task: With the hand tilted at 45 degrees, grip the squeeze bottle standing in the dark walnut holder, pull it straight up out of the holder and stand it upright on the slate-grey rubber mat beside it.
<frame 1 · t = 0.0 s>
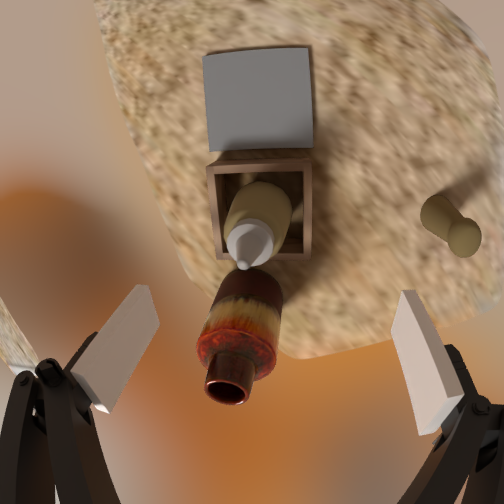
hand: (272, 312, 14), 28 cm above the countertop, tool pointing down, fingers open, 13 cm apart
vase: (251, 294, 48), on the countertop
squeeze bottle: (264, 202, 41), resting in bottle holder
cork: (435, 213, 37), on the countertop
slate mat: (258, 98, 34), on the countertop
bottle holder: (264, 203, 40), on the countertop
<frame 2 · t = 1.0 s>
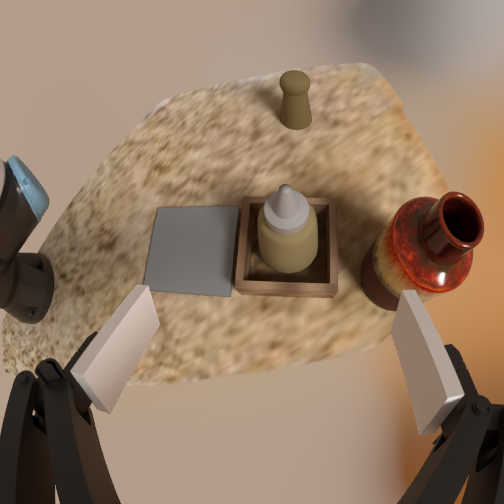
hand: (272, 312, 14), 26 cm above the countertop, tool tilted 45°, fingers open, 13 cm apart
vase: (393, 275, 39), on the countertop
squeeze bottle: (288, 253, 42), resting in bottle holder
cork: (296, 119, 50), on the countertop
slate mat: (191, 249, 44), on the countertop
bottle holder: (288, 252, 42), on the countertop
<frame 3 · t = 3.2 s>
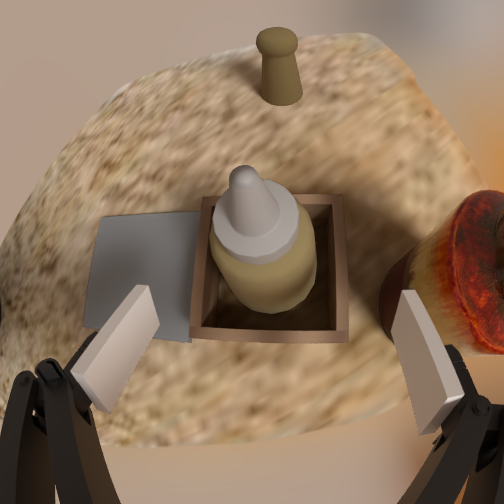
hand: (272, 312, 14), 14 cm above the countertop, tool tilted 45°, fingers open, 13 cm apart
vase: (423, 304, 25), on the countertop
squeeze bottle: (273, 277, 29), resting in bottle holder
cork: (282, 93, 37), on the countertop
slate mat: (140, 274, 31), on the countertop
bottle holder: (273, 277, 28), on the countertop
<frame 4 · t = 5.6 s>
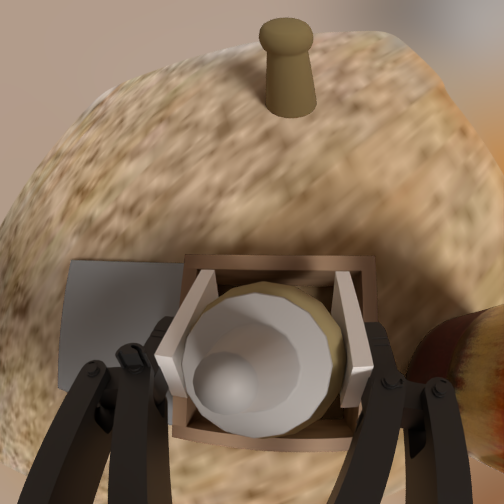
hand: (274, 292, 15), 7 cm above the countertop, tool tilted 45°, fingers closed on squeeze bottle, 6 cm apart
vase: (454, 377, 18), on the countertop
squeeze bottle: (278, 353, 22), resting in bottle holder, touching gripper
cork: (291, 102, 30), on the countertop
slate mat: (116, 335, 24), on the countertop
bottle holder: (278, 353, 21), on the countertop
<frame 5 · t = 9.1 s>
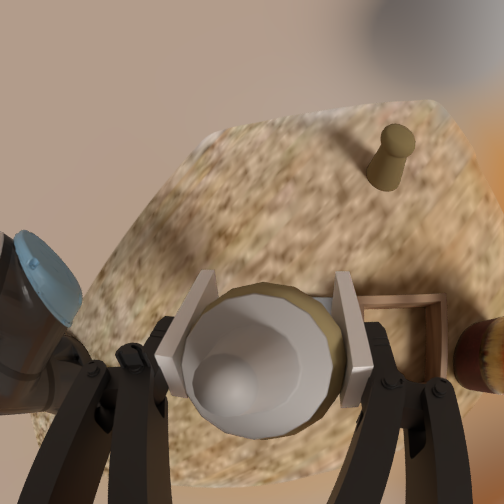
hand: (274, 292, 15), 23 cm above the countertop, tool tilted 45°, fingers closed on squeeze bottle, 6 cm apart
vase: (477, 356, 31), on the countertop
squeeze bottle: (278, 353, 21), point 16 cm above the countertop, touching gripper
cork: (383, 176, 42), on the countertop
bottle holder: (392, 347, 34), on the countertop
when the fingers open (10 cm above the countertop, at t = 12.5 s): squeeze bottle drops 1 cm, resting on slate mat.
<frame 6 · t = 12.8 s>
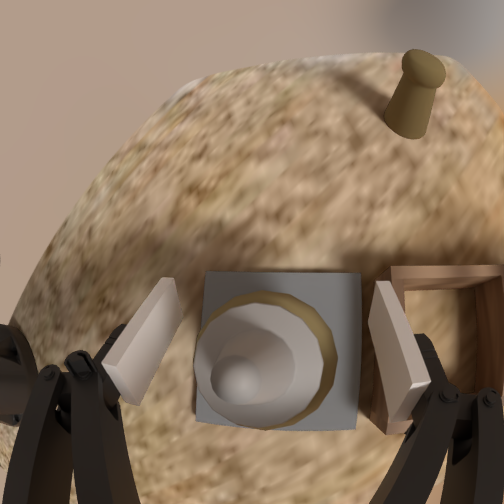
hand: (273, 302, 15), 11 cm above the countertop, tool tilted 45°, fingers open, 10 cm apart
squeeze bottle: (277, 353, 23), point 1 cm above the countertop, touching slate mat
cork: (404, 123, 30), on the countertop
slate mat: (280, 352, 24), on the countertop
bottle holder: (435, 346, 21), on the countertop
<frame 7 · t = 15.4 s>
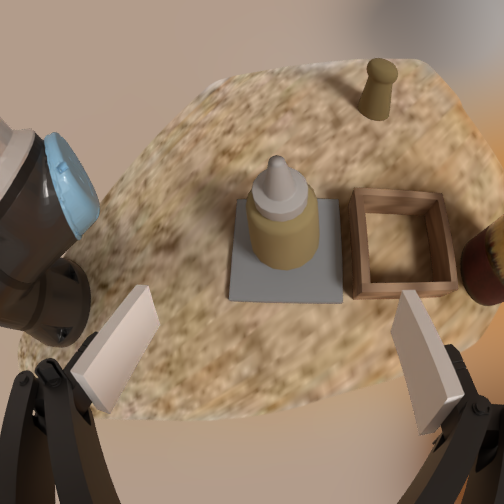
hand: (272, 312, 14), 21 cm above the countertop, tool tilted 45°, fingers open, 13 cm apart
vase: (484, 271, 32), on the countertop
squeeze bottle: (286, 247, 36), point 1 cm above the countertop, touching slate mat
cork: (373, 110, 43), on the countertop
slate mat: (287, 249, 37), on the countertop
bottle holder: (396, 250, 35), on the countertop
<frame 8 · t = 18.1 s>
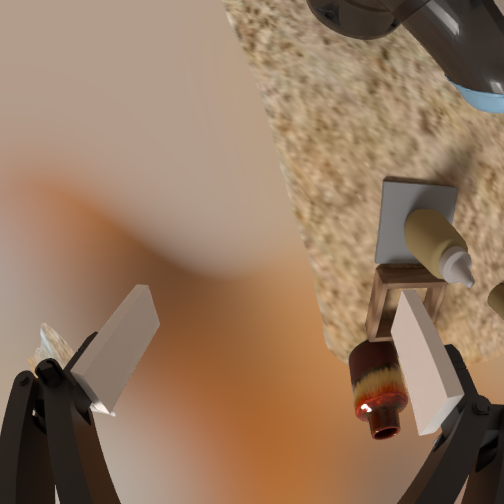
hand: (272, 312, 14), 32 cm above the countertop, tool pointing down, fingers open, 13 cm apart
vase: (371, 355, 56), on the countertop
squeeze bottle: (418, 224, 41), point 1 cm above the countertop, touching slate mat
cork: (496, 294, 45), on the countertop
slate mat: (416, 223, 42), on the countertop
bottle holder: (401, 297, 48), on the countertop
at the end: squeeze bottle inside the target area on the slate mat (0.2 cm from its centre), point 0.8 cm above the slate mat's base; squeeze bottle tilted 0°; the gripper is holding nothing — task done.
